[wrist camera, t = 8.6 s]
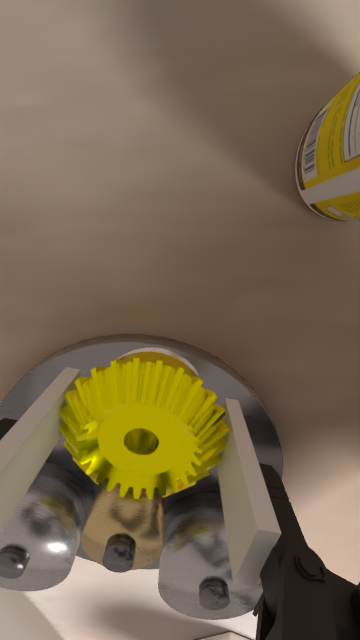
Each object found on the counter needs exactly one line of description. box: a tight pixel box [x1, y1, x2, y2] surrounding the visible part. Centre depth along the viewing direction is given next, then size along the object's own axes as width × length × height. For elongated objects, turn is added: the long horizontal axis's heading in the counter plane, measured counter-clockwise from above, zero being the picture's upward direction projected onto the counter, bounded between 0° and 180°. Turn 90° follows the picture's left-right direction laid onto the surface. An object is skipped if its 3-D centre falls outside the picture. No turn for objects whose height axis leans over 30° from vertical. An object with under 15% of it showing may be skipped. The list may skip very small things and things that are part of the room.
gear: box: [59, 351, 229, 500], centre depth 13 cm, size 8×4×8 cm
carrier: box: [0, 334, 283, 620], centre depth 16 cm, size 20×20×6 cm
